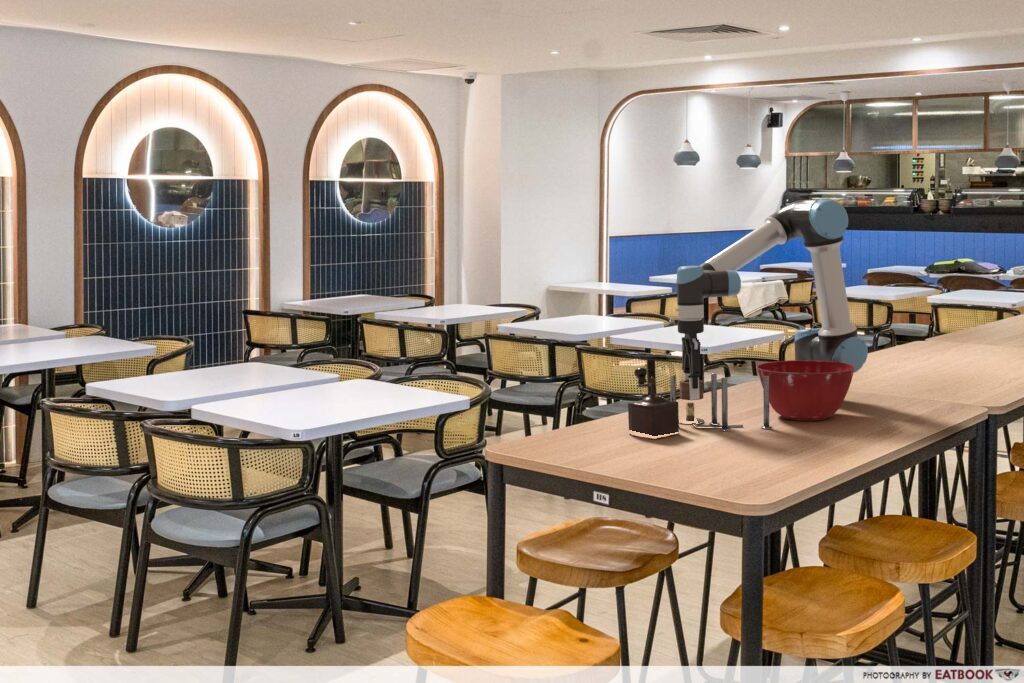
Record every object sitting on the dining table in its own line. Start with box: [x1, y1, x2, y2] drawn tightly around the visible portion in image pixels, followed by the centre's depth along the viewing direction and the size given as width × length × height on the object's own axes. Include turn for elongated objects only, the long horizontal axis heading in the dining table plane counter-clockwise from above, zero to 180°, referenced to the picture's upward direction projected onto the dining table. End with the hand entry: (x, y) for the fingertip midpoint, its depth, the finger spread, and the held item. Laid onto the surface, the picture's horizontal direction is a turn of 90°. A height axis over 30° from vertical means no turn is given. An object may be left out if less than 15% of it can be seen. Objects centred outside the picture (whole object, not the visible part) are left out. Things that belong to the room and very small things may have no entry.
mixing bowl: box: [755, 359, 856, 422], centre depth 340 cm, size 28×28×15 cm
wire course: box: [669, 372, 773, 432], centre depth 329 cm, size 12×28×15 cm, turn 93°
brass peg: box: [685, 401, 705, 423], centre depth 338 cm, size 8×8×6 cm
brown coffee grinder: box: [627, 367, 680, 436], centre depth 324 cm, size 16×11×18 cm
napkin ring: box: [679, 379, 704, 401], centre depth 336 cm, size 6×6×5 cm
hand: (691, 397), depth 336 cm, fingers closed on napkin ring, 6 cm apart
